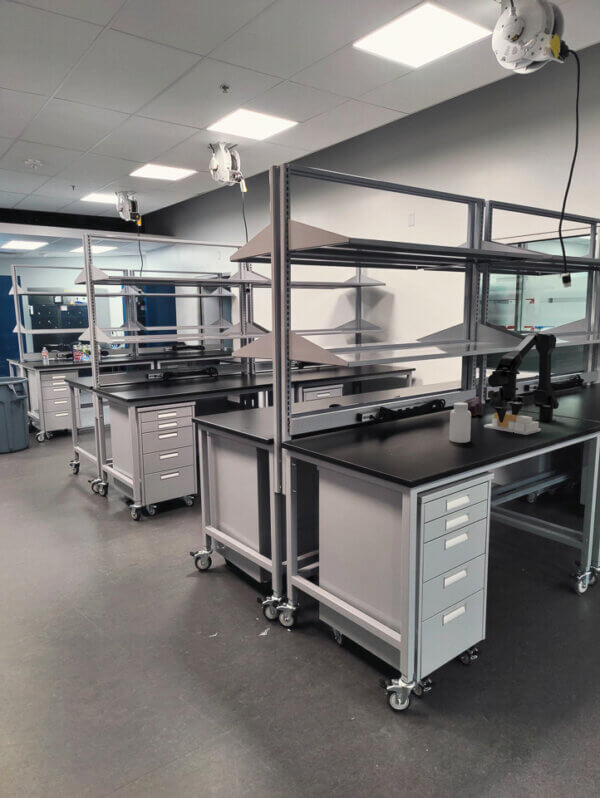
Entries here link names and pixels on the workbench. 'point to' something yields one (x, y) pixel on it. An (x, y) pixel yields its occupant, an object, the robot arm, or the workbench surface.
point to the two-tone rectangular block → (513, 419)
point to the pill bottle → (460, 423)
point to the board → (515, 427)
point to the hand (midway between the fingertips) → (507, 421)
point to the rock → (473, 405)
